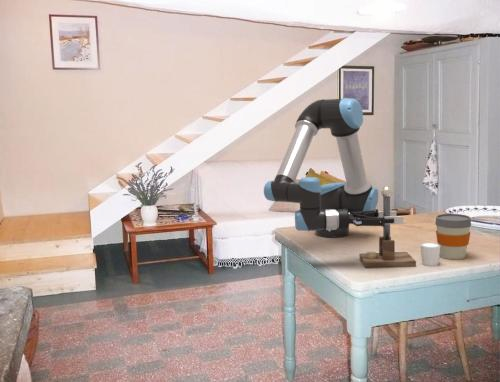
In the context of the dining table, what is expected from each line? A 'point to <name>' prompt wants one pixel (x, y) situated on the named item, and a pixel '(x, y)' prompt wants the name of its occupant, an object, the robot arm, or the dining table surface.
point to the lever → (386, 210)
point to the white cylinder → (430, 253)
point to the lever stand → (386, 256)
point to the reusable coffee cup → (453, 235)
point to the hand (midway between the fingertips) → (399, 217)
